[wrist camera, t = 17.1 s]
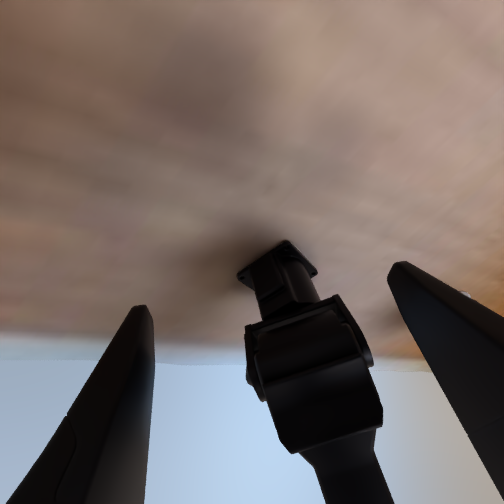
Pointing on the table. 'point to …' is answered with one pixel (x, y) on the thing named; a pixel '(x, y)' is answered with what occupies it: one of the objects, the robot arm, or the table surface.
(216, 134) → the table surface
